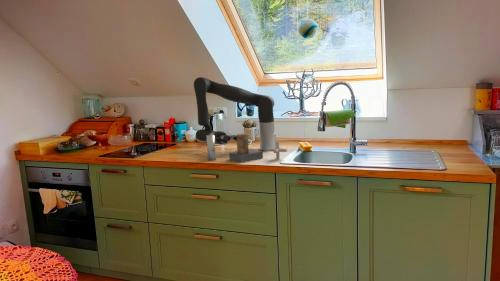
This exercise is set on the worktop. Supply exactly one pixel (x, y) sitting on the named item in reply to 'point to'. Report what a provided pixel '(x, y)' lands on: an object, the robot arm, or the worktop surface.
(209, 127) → the robot arm
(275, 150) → the pipe connector
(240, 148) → the square walnut bit
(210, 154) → the round metal bit
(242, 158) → the socket block
